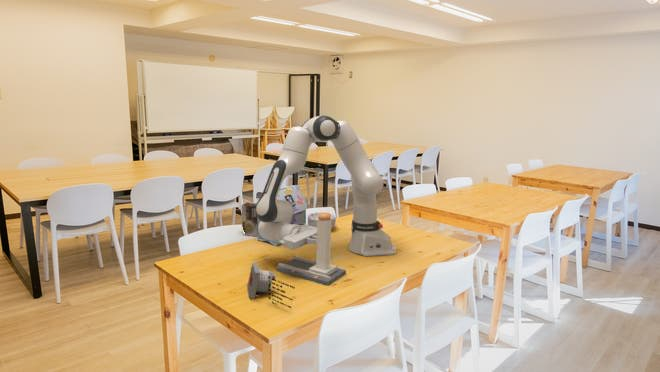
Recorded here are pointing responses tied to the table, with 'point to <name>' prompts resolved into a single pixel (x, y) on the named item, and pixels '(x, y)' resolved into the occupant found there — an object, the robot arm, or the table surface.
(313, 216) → the paper bowls
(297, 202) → the lunch bag
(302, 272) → the slider track
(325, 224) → the slider handle
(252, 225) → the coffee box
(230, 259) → the table surface
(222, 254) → the table surface
